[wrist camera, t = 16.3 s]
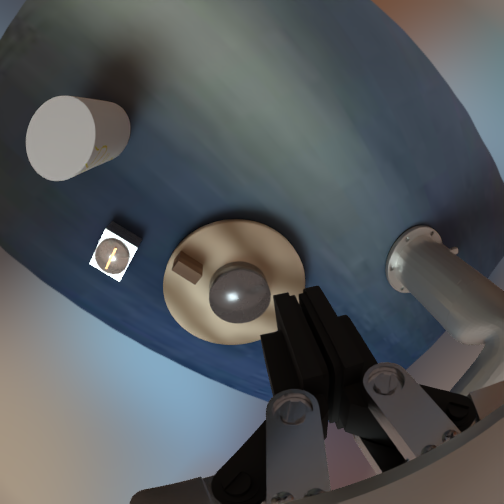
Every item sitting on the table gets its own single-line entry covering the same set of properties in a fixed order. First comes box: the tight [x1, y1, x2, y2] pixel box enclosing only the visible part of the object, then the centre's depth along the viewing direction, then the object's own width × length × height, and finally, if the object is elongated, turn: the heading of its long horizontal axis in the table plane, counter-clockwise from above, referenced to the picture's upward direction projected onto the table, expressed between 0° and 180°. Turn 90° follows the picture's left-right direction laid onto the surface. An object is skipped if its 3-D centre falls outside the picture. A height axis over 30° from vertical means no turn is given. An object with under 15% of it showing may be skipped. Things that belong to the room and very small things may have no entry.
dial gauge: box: [90, 221, 142, 282], centre depth 37 cm, size 6×5×4 cm
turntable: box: [163, 219, 305, 345], centre depth 40 cm, size 20×20×4 cm
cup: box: [26, 96, 130, 181], centre depth 26 cm, size 8×8×12 cm
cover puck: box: [209, 261, 271, 323], centre depth 39 cm, size 8×8×3 cm
